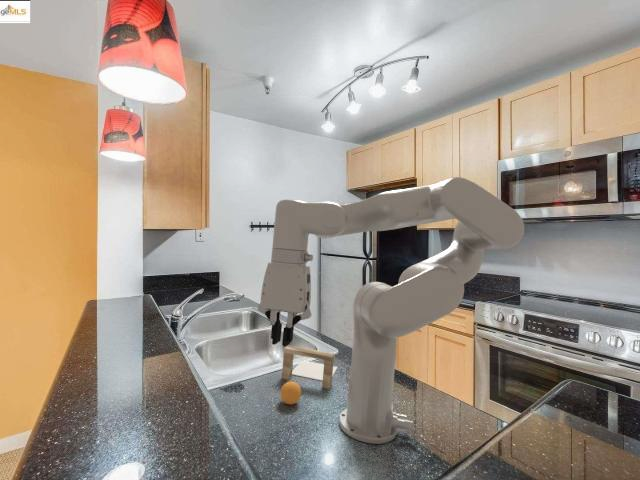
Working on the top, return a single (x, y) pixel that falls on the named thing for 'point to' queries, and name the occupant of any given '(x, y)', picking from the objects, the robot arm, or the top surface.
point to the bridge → (325, 356)
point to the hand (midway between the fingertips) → (281, 343)
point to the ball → (290, 392)
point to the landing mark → (311, 370)
